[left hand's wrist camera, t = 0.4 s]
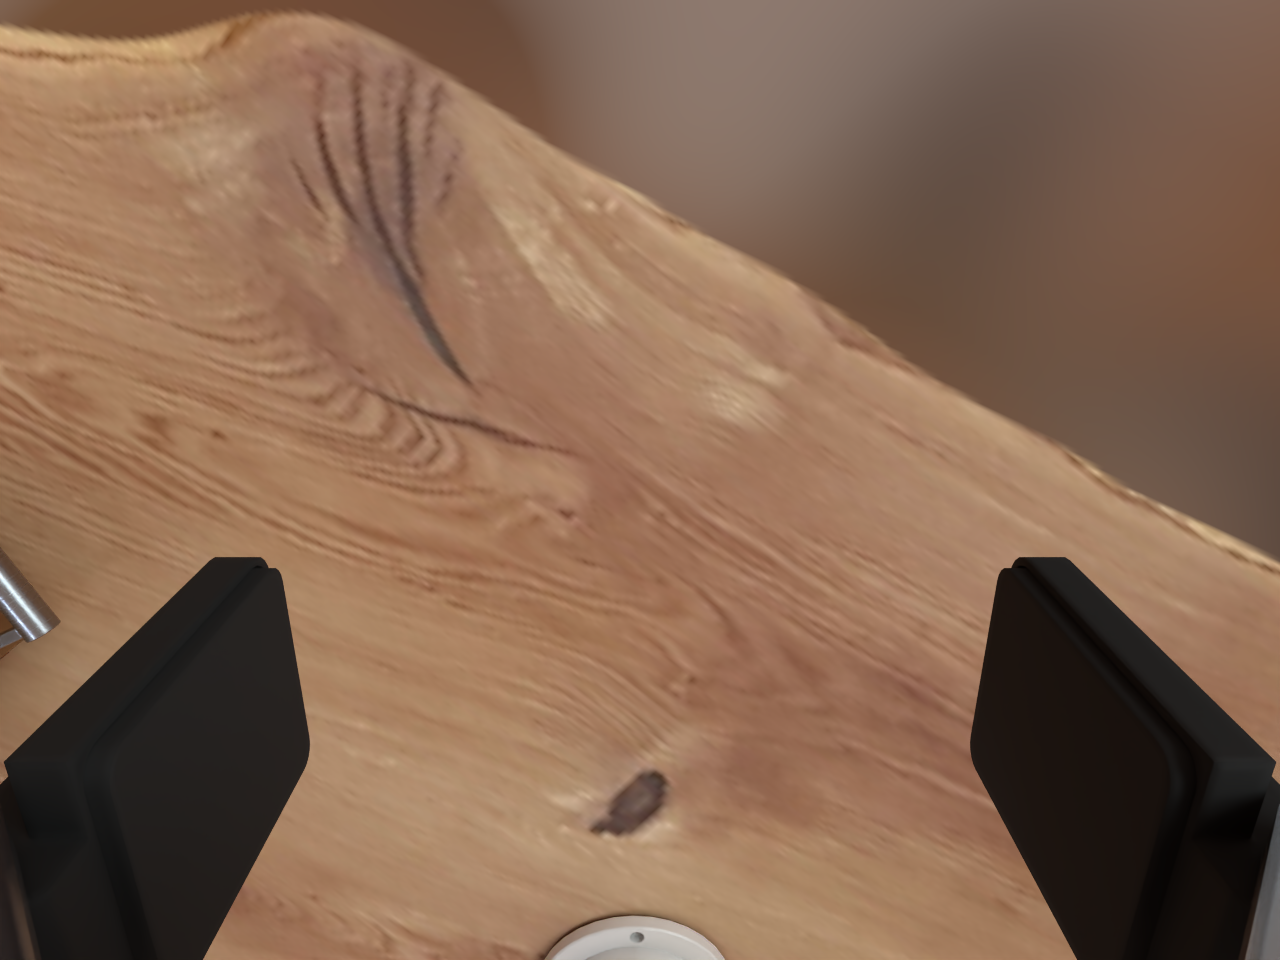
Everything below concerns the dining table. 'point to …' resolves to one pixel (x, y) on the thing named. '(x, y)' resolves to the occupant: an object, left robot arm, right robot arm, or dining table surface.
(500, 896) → the dining table surface
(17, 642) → the drawer
